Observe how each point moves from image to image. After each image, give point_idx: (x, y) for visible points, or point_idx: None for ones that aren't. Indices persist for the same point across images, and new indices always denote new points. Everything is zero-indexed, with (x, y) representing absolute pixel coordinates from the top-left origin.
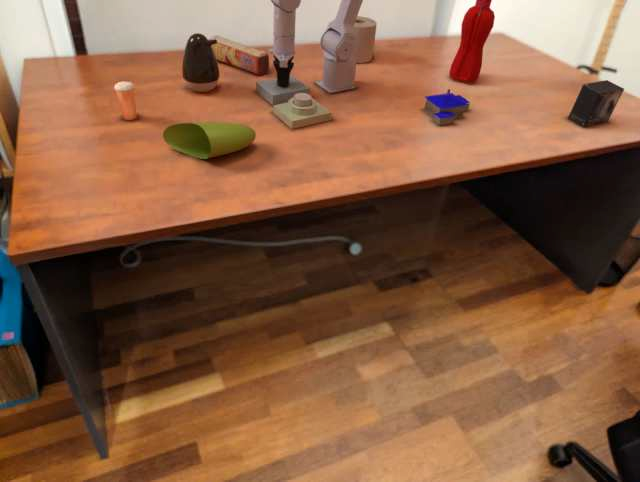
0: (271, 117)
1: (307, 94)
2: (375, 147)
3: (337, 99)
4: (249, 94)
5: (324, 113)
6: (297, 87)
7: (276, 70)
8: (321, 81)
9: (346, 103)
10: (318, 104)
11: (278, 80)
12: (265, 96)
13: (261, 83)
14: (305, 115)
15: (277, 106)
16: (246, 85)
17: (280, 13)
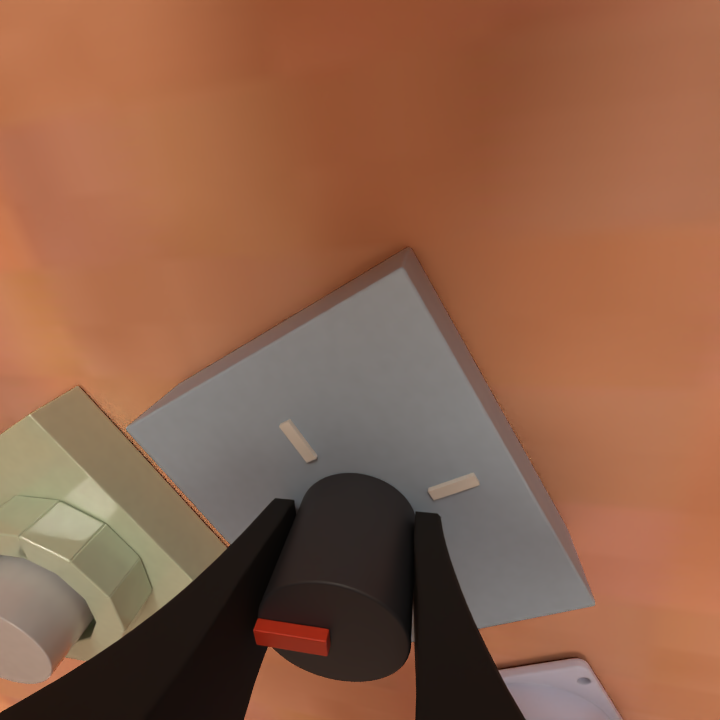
0: (21, 372)
1: (39, 672)
2: (3, 682)
3: (357, 687)
4: (339, 180)
5: None
6: None
7: (99, 654)
8: (590, 692)
9: (318, 703)
10: None
11: (236, 539)
12: (250, 343)
13: (356, 332)
14: None
15: (28, 439)
16: (582, 113)
17: None
